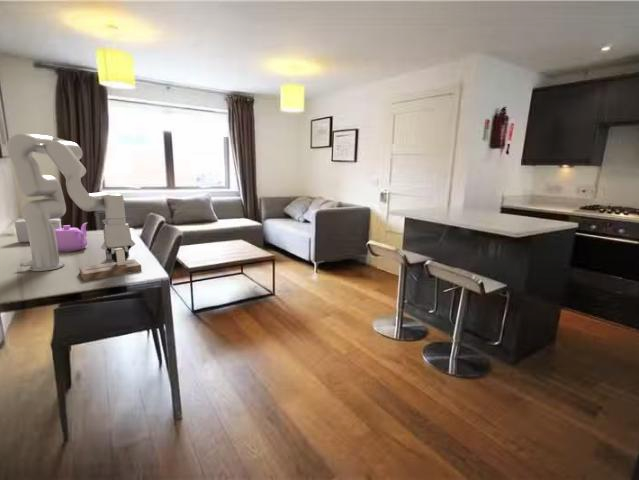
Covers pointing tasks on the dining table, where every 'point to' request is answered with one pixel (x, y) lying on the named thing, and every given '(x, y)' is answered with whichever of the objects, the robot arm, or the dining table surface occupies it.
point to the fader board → (109, 270)
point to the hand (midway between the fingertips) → (120, 260)
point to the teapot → (71, 238)
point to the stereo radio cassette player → (23, 232)
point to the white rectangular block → (120, 256)
